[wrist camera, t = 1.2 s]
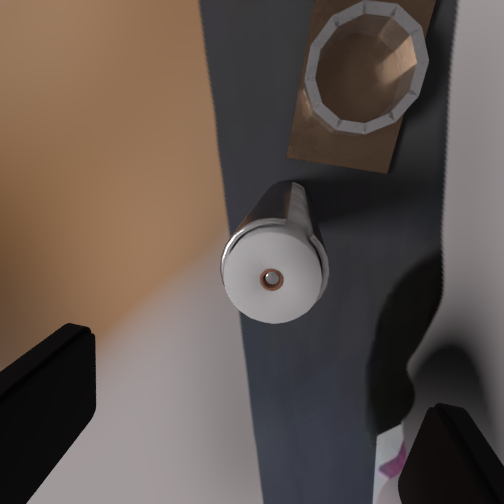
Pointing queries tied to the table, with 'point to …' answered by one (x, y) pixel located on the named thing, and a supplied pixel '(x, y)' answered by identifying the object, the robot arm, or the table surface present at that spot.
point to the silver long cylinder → (276, 257)
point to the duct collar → (359, 80)
